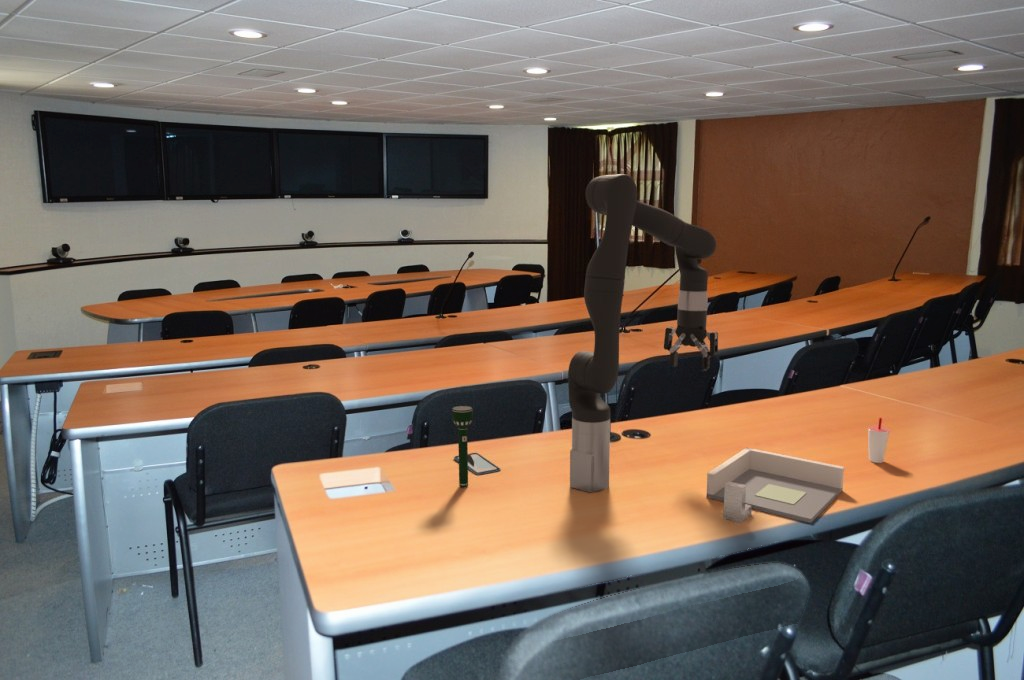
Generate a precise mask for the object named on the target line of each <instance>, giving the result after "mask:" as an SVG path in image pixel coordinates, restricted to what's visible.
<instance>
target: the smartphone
mask: <svg viewBox="0 0 1024 680" xmlns="http://www.w3.org/2000/svg"><path fill="white" fill-rule="evenodd" d="M453 460H454V461H455V462H456V461H457V463H458V464H459V455H455V456H453ZM468 472H471V473H473V474H474V475H476V476H483V475H487V474H493V473H498V472H501V467H499V466H497V465H496V464H494V463H493V462H492V461H490V460H488V459H487V458H486V457H484V456H483V455H481V454H480V453H479V452H470V453H468Z"/></svg>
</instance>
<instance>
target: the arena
mask: <svg viewBox="0 0 1024 680" xmlns="http://www.w3.org/2000/svg"><path fill="white" fill-rule="evenodd" d="M844 472H845V466H841V465H836V464H832V463H827V462H823V461H822V462H821V461H816V460H810V459H805V458H801V457H795V456H792V455H785V454H780V453H775V452H770V451H767V450H766V451H764V450H761V449H755V448H750V447H746V448H745V447H744V449H742V450H740V451H739V452H738V453H736V454H735V455H733V456H731V457H729V458H728V459H727V460H725V461H724V462H722V463H721V464H719V465H718V466H716V467H714V468H713V469H712V470H710V471H708V472H707V476H706V477H707V478H706V498H707V499H710V500H715V501H719V502H723V503H724V492H725V483H727V482H728V481H730V482H734V483H738V484H743V485H746V499H745V504H747V505H751V506H752V510H756V511H759V512H764V513H767V514H771V515H776V516H779V517H783V518H787V519H792V520H796V521H800V522H804V523H807V524H812V523H813V522H814V521H815V520H816V519H817V517H818V516H820V514H822V512H823V511H824V510H825V509H826V508H828V507H829V505H830V504H831V503H832V502H833V501H834V500H835V499H836V498H837V497H838V496H839V495H840V494H841V493H842V492H843V489H844V488H843V486H844V475H845V473H844Z"/></svg>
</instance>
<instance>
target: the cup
mask: <svg viewBox="0 0 1024 680" xmlns="http://www.w3.org/2000/svg"><path fill="white" fill-rule="evenodd" d="M882 420H883V418H882V417H879V419H878V425H871V426H868V427H867V433H868V434H867V435H868V437H867V439H868V459H869V460H868V461H870V462H872V463H877V464H881V463H883V462H884V460H885V459H884V458H885V454H886V449H887V445H888V439H889V434H890V432H891V430H890V429H889V428H887V427H885V426H882V422H883V421H882Z"/></svg>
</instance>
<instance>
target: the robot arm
mask: <svg viewBox="0 0 1024 680" xmlns="http://www.w3.org/2000/svg"><path fill="white" fill-rule="evenodd" d="M585 200H586V203H587V205H588V207H589V208H590V209H591V210H592V211H593V212H595V213H597V214H599V215H603V216H606V217H605V225H604V231H603V234H602V237H601V240H600V242H599V245H597V247H596V250H595V251H594V253H593V255H592V257H591V259H590V260H589V263H588V265H587V267H586V271H585V272H586V273H585V277H584V278H585V280H584V288H583V289H584V291H583V299H584V303H585V307H586V309H587V312H588V315H589V318H590V320H591V324H592V327H593V332H594V349H593V351H589V350H588V351H587V350H581V351H578V352H576V353H575V354H574V355H573V356H572V357H571V360H570V362H569V365H568V371H567V382H568V383H567V385H568V386H567V387H568V388H567V389H568V401H569V407H570V410H571V413H572V414H571V449H570V451H569V487H570V488H571V489H572V488H573V489H576V490H580V491H583V492H588V493H592V492H599V491H604V490H606V489H608V488H609V486H610V457H611V455H610V451H611V449H610V448H611V445H610V442H611V408H610V405H608V403H606V401H605V400H603V399H602V397H601V396H600V394H608V393H609V392H611V391H612V390H613V389H614V387H615V386H616V383H617V381H618V376H619V370H620V369H619V368H620V329H621V314H622V305H623V304H622V303H623V298H624V292H625V291H624V290H625V282H626V269H627V268H626V267H627V260H628V251H629V245H630V237H631V232H632V227H634V228H637V229H638V230H640V231H643V232H644V233H645V234H648V235H650V236H652V237H654V238H655V239H657V240H659V241H660V242H662V243H664V244H666V245H668V246H670V247H674V248H675V249H674V251H675V256H676V261H677V266H678V271H679V273H680V274H679V276H680V277H679V292H678V293H679V294H678V299H677V319H676V324H677V325H676V328H674V327H672V326H669V327H666V328H665V331H664V339H663V340H664V342H663V349H664V350H667V351H668V352H669V353H670V357H669V364H670V365H671V367H674V368H676V367H678V361H679V360H678V359H679V358H678V357H679V352H678V350H679V349H680V348H681V347H682V346H684V347H687V346H690V347H693V348H695V347H696V348H697V349H698V350H699V351H700V353H701V354H702V359H701V360H702V361H701V371H702V372H706V371H708V369H710V367H711V366H710V364H711V357H712V356H715V355H717V354H718V353H719V333H718V331H707V323H708V322H707V317H708V308H709V307H708V304H709V303H708V282H709V280H708V279H709V276H708V274H709V272H708V271H707V270H706V268H704V267H701V266H700V265H699V263H698V261H697V260H698V259H699V260H701V259H707V258H708V259H709V258H710V257H711V256H713V254H715V252H716V249H717V240H716V238H715V236H714V235H713V233H711V232H710V231H709V230H707V229H705V228H702V227H700V226H698V225H694V224H692V223H688V222H686V221H683V220H682V219H681V218H679V217H677V216H676V215H674V214H673V213H671V212H668V211H667V210H664V209H662V208H660V207H657V206H654V205H651V204H647V203H644V202H642V201H639V200H638V188H637V184H636V181H635V180H634V179H633V177H632V176H630V175H629V174H624V173H619V174H618V173H617V174H606V175H605V174H604V175H600V176H596V177H594V178H593V179H591V180H590V181H589V183H588V184H587V186H586V188H585ZM675 335H676V336H677V339H676V341H675V342H674V343H673V340H674V339H673V338H674V336H675ZM706 338H707V339H708V341H709V347H708V344H707V342H706V341H705V340H706Z"/></svg>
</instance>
